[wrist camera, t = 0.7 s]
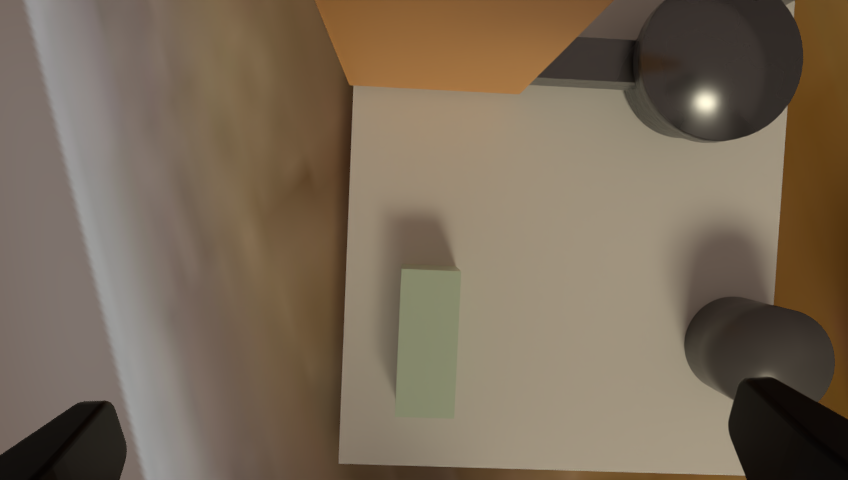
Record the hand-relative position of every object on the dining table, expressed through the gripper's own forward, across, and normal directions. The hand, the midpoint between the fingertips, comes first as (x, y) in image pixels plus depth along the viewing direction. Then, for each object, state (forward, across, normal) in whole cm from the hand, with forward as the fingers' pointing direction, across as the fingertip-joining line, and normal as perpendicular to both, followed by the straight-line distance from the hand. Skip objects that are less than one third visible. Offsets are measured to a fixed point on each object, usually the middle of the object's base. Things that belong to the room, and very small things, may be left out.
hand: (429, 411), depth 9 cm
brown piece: (+16, -5, -2) cm, 16 cm away
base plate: (+15, -6, +2) cm, 16 cm away
